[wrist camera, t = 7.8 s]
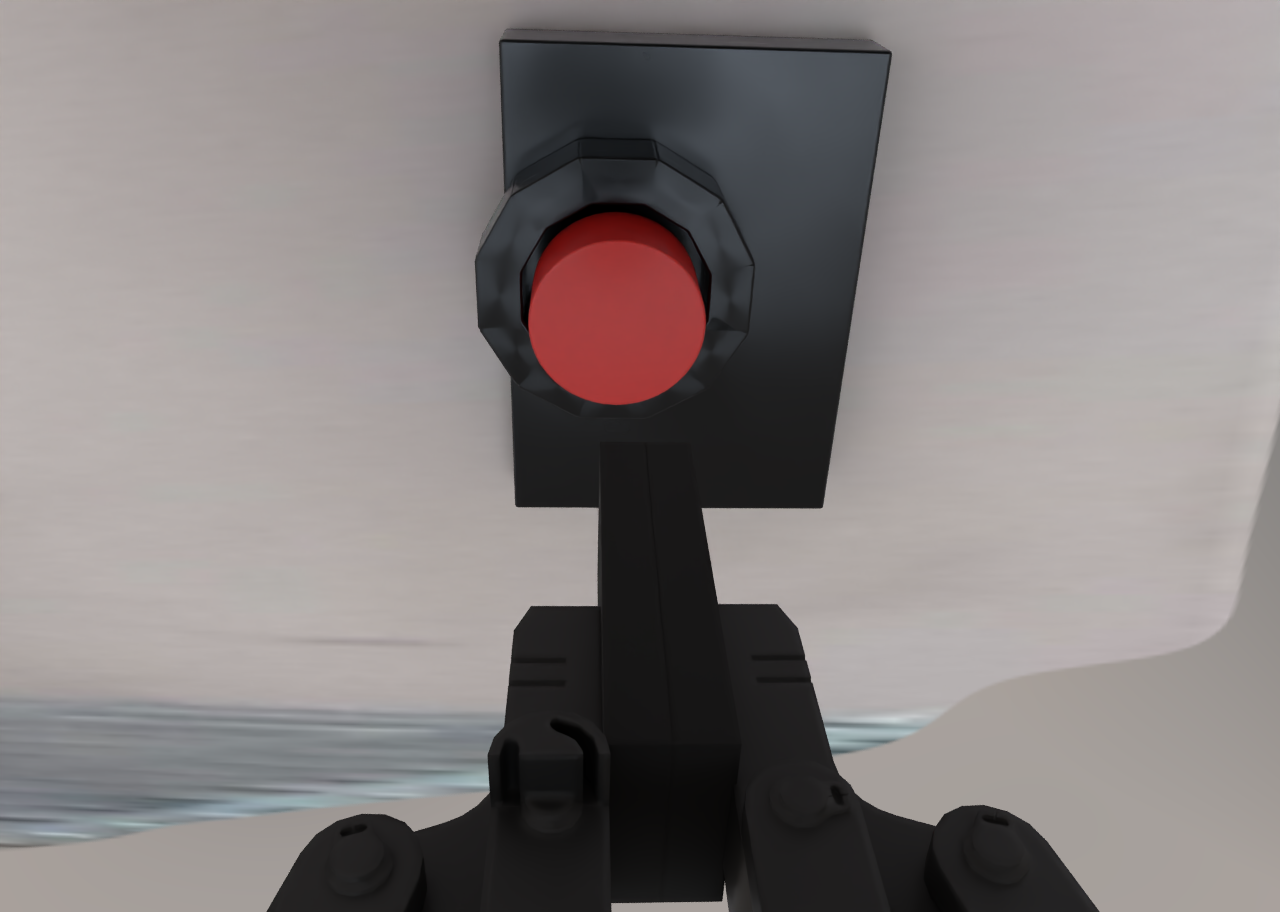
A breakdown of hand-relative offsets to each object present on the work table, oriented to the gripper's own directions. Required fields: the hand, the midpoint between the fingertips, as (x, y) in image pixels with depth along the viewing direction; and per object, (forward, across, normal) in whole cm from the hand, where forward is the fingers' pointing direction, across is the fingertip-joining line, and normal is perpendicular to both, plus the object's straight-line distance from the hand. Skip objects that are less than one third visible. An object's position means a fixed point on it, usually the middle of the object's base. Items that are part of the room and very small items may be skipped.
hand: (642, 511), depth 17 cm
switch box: (+15, +2, -1) cm, 15 cm away
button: (+11, 0, 0) cm, 11 cm away
